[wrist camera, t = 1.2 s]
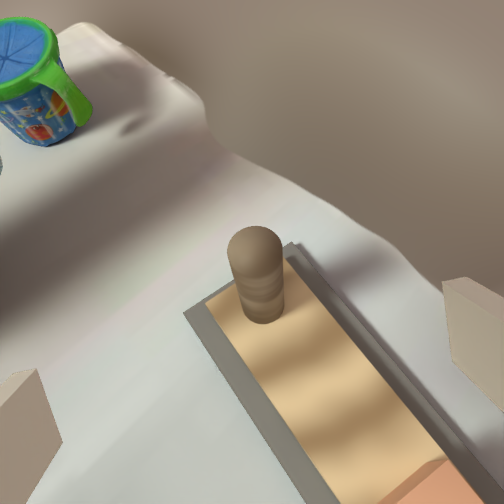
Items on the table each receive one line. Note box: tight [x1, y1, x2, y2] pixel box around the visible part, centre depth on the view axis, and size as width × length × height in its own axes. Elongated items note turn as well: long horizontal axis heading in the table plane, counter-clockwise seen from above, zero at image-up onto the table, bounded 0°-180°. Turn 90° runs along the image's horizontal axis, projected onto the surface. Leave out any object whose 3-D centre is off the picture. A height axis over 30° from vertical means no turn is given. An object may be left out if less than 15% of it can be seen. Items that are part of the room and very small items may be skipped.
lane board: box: [183, 242, 504, 504], centre depth 35 cm, size 30×12×1 cm, turn 34°
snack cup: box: [0, 17, 92, 146], centre depth 48 cm, size 16×10×10 cm
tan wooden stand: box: [205, 226, 486, 504], centre depth 30 cm, size 28×8×11 cm, turn 34°
